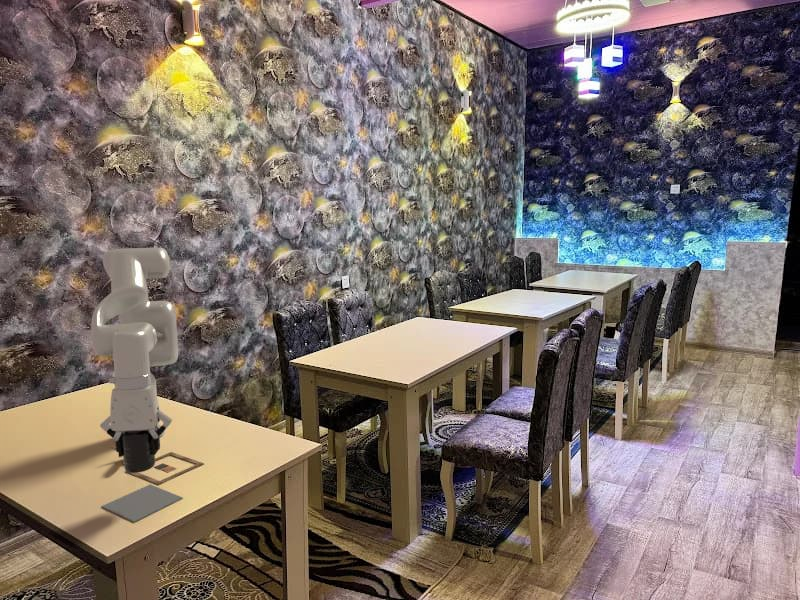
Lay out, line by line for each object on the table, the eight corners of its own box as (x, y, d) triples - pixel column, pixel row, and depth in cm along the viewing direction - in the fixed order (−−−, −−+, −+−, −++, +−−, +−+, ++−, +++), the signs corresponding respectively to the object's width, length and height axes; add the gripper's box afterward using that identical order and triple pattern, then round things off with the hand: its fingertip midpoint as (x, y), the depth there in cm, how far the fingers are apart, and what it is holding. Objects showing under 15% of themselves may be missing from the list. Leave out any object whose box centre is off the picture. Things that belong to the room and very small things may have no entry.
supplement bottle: (146, 458, 144) (143, 412, 142) (160, 466, 139) (157, 418, 138) (118, 468, 139) (114, 420, 137) (132, 476, 134) (128, 427, 132)
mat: (101, 507, 139) (101, 506, 138) (150, 485, 149) (150, 484, 149) (134, 522, 132) (134, 521, 132) (182, 498, 143) (182, 497, 143)
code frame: (125, 471, 157) (125, 470, 157) (171, 452, 169) (170, 451, 169) (158, 485, 150) (158, 483, 150) (204, 464, 162) (203, 463, 162)
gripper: (87, 388, 131) (94, 462, 134) (167, 384, 133) (172, 458, 136) (100, 378, 138) (106, 449, 141) (175, 375, 141) (180, 445, 143)
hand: (138, 453), depth 138 cm, fingers closed on supplement bottle, 6 cm apart
